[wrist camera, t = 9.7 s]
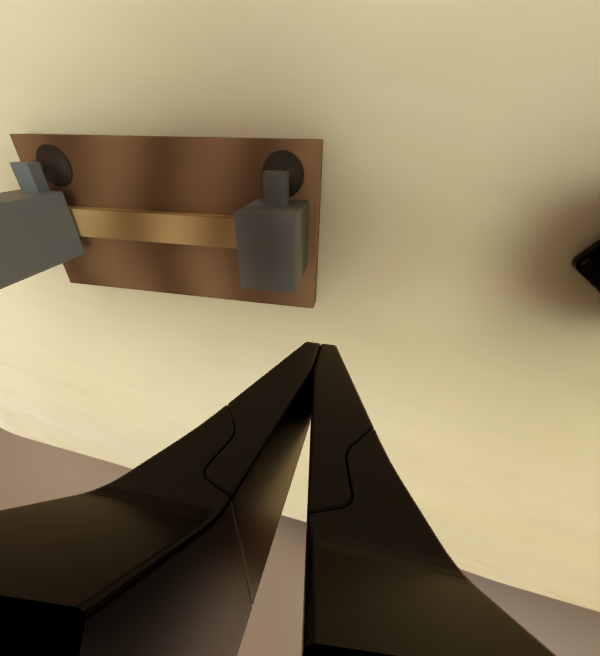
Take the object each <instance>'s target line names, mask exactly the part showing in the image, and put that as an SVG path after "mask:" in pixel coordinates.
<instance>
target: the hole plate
mask: <svg viewBox="0 0 600 656" xmlns="http://www.w3.org/2000/svg"><path fill="white" fill-rule="evenodd" d="M10 136H11V139H12V141H13V144H14V146H15V148H16V151H17V153H18V156H19V158H20V161H21V162H28V161H35V160H41V161H43V162H44V163H45V165H46V167H47V171H46V172H45V173H44V176H45V179H46V181H47V184H48V186H49V189H50V191H62V192H63V194H64V197H65V200H66V203H67V205H68V208H69V211H70V214H71V216H72V219H73V222H74V224H75V227H76V230H77V233H78V235H79V238H80V241H81V244H82V246H83V249H84V252H85V254H83V255H80V256H78V257H76V258H73V259H71V260H69V261H66V262H64V263H63V265H64V267H65V270H66V272H67V275H68V277H69V279H70V282H71V283H80V284H90V285H99V286H109V287H118V288H127V289H137V290H146V291H155V292H165V293H174V294H183V295H193V296H202V297H211V298H221V299H230V300H239V301H249V302H258V303H268V304H277V305H286V306H296V307H305V308H314V305H315V302H316V288H317V265H318V243H319V220H320V198H321V175H322V152H323V139H269V138H216V137H162V136H108V135H54V134H10Z"/></svg>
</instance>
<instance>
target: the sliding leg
mask: <svg viewBox="0 0 600 656" xmlns="http://www.w3.org/2000/svg"><path fill="white" fill-rule="evenodd" d="M10 164H11V167H12V169H13V171H14V174H15V176H16V178H17V181H18V183H19V185H20V188H21V190H15V191H9V192H2V193H0V289H2V288H4V287H7V286H9V285H11V284H14V283H16V282H19V281H21V280H23V279H26V278H28V277H30V276H33V275H35V274H38V273H40V272H42V271H45V270H47V269H50V268H52V267H54V266H57V265H59V264H61V263H64V262H66V261H69V260H71V259H73V258H76V257H78V256H80V255H83V254H85V252H84V249H83V246H82V244H81V241H80V238H79V235H78V233H77V230H76V227H75V224H74V222H73V219H72V216H71V214H70V211H69V208H68V205H67V203H66V200H65V197H64V194H63V192H62V191H50V189H49V186H48V184H47V181H46V179H45V176H44V173H45V172H46V171H47V167H46V165H45V163H44V162H43V161H41V160H35V161H28V162H11V163H10Z"/></svg>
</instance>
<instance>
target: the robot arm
mask: <svg viewBox="0 0 600 656" xmlns="http://www.w3.org/2000/svg"><path fill="white" fill-rule="evenodd" d="M585 260H588V262H587V263H586V264H585V265H582V266H581V263H582V262H583V261H585ZM572 266H573V268H574V269H575V270H576V271H577V272H578V273H580V274H581V275H582V276H583V277H584V278H585V279H586V280H587V281H588V282H589V283H590V284H591V285H592V286H593V287H594V288H595V289H596V290H597V291H598V292H599V293H600V240H598V241H597V242H596V243H594V244H593V245H591V246H590V247H589V248H587V249H586V250H584V251H583V252H582V253H580V254H579V255H578V256H576V257H575V258H574V260H573V261H572ZM310 421H311V432H310V456H309V480H308V504H307V529H306V554H305V576H304V577H305V578H304V600H303V626H302V649H301V656H556V655H555V654H554V653H553V652H552V651H550V650H549V649H548V648H547V647H546V646H545V645H543V644H542V643H541V642H540V641H539V640H538V639H536V638H535V637H534V636H533V635H532V634H531V633H529V632H528V631H527V630H526V629H525V628H524V627H522V626H521V625H520V624H519V623H518V622H517V621H516V620H514V619H513V618H512V617H511V616H510V615H509V614H507V613H506V612H505V611H504V610H503V609H502V608H500V607H499V606H498V605H497V604H496V603H495V602H494V601H492V600H491V599H490V598H489V597H488V596H487V595H485V594H484V593H483V592H482V591H481V590H480V589H478V588H477V587H476V586H475V585H474V584H473V583H472V582H471V581H470V580H469V579H468V578H467V577H466V576H465V575H464V574H463V572H462V571H461V570H460V569H459V568H458V567H457V565H456V564H455V563H454V562H453V560H452V559H451V558H450V556H449V555H448V554H447V552H446V551H445V549H444V548H443V546H442V544H441V543H440V541H439V540H438V538H437V537H436V535H435V533H434V532H433V530H432V529H431V527H430V525H429V524H428V522H427V521H426V519H425V517H424V516H423V514H422V513H421V511H420V509H419V508H418V506H417V505H416V503H415V502H414V500H413V498H412V497H411V495H410V494H409V492H408V490H407V489H406V487H405V486H404V484H403V482H402V481H401V479H400V477H399V476H398V474H397V472H396V470H395V469H394V467H393V465H392V464H391V462H390V460H389V458H388V456H387V454H386V452H385V450H384V448H383V446H382V444H381V442H380V440H379V438H378V436H377V434H376V431H375V430H374V427H373V425H372V423H371V421H370V419H369V416H368V414H367V412H366V410H365V408H364V406H363V403H362V401H361V399H360V397H359V395H358V393H357V390H356V388H355V386H354V384H353V382H352V380H351V377H350V375H349V373H348V371H347V369H346V366H345V364H344V362H343V360H342V358H341V356H340V353H339V351H338V349H337V347H336V346H335V345H328V344H322V345H320V344H319V343H312V342H306V343H304V344H303V345H302V346H301V347H299V348H298V349H297V350H295V351H294V352H293V353H292V354H290V355H289V356H288V357H287V358H285V359H284V360H283V361H282V362H280V363H279V364H278V365H277V366H275V367H274V368H273V369H271V370H270V371H269V372H268V373H266V374H265V375H264V376H263V377H261V378H260V379H259V380H258V381H256V382H255V383H254V384H253V385H251V386H250V387H249V388H248V389H246V390H245V391H244V392H242V393H241V394H240V395H239V396H237V397H236V398H235V399H234V400H232V401H231V402H230V403H229V404H228V406H227V405H226V406H225V407H223V408H222V409H221V410H220V411H218V412H217V413H216V414H214V415H213V416H212V417H210V418H209V419H208V420H206V421H205V422H204V423H202V424H201V425H200V426H198V427H197V428H195V429H194V430H192V431H191V432H190V433H188V434H187V435H185V436H184V437H182V438H181V439H179V440H178V441H176V442H175V443H173V444H171V445H170V446H168V447H167V448H165V449H164V450H162V451H161V452H159V453H157V454H156V455H154V456H153V457H151V458H150V459H148V460H147V461H145V462H144V463H142V464H140V465H139V466H137V467H136V468H134V469H133V470H131V471H130V472H128V473H126V474H125V475H123V476H121V477H120V478H118V479H117V480H115V481H113V482H111V483H109V484H107V485H105V486H102V487H100V488H97V489H95V490H92V491H89V492H86V493H82V494H78V495H74V496H69V497H63V498H59V499H54V500H49V501H44V502H39V503H34V504H29V505H25V506H19V507H15V508H10V509H5V510H0V656H237V654H238V650H239V647H240V644H241V641H242V638H243V635H244V631H245V628H246V625H247V622H248V619H249V616H250V612H251V609H252V604H253V602H254V599H255V596H256V593H257V590H258V587H259V583H260V580H261V577H262V574H263V571H264V568H265V564H266V561H267V558H268V555H269V552H270V548H271V545H272V542H273V539H274V536H275V533H276V529H277V526H278V523H279V520H280V517H281V514H282V510H283V507H284V504H285V501H286V498H287V495H288V491H289V488H290V485H291V482H292V479H293V476H294V472H295V469H296V466H297V463H298V460H299V456H300V453H301V450H302V447H303V444H304V441H305V437H306V434H307V431H308V428H309V424H310Z"/></svg>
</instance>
